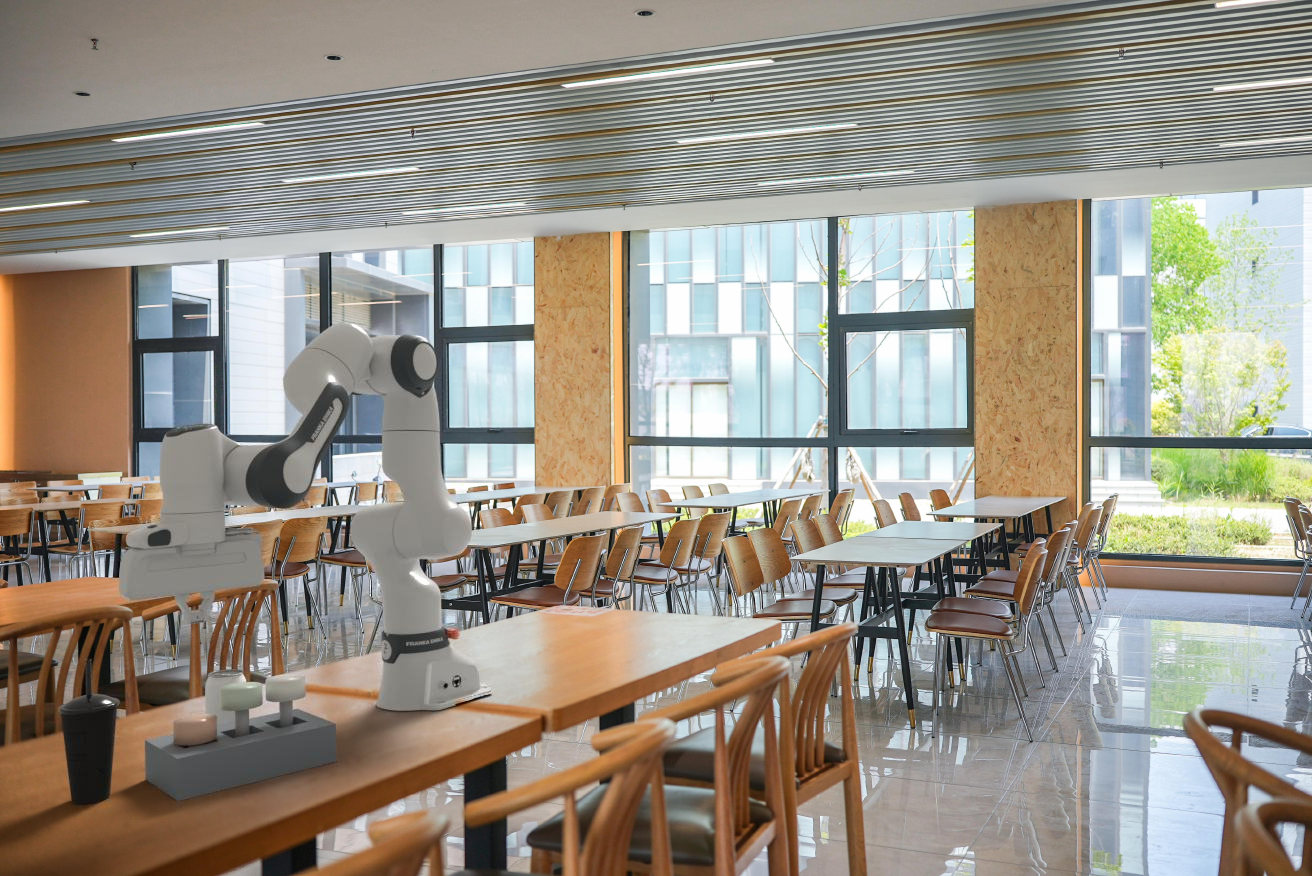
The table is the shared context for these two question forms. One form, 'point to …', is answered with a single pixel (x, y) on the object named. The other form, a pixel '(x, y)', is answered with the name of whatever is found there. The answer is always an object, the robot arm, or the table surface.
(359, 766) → the table surface
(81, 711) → the drinking cup
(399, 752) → the table surface
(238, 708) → the knob mid
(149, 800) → the table surface
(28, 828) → the table surface
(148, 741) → the mount
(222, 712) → the can
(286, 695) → the knob
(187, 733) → the knob
